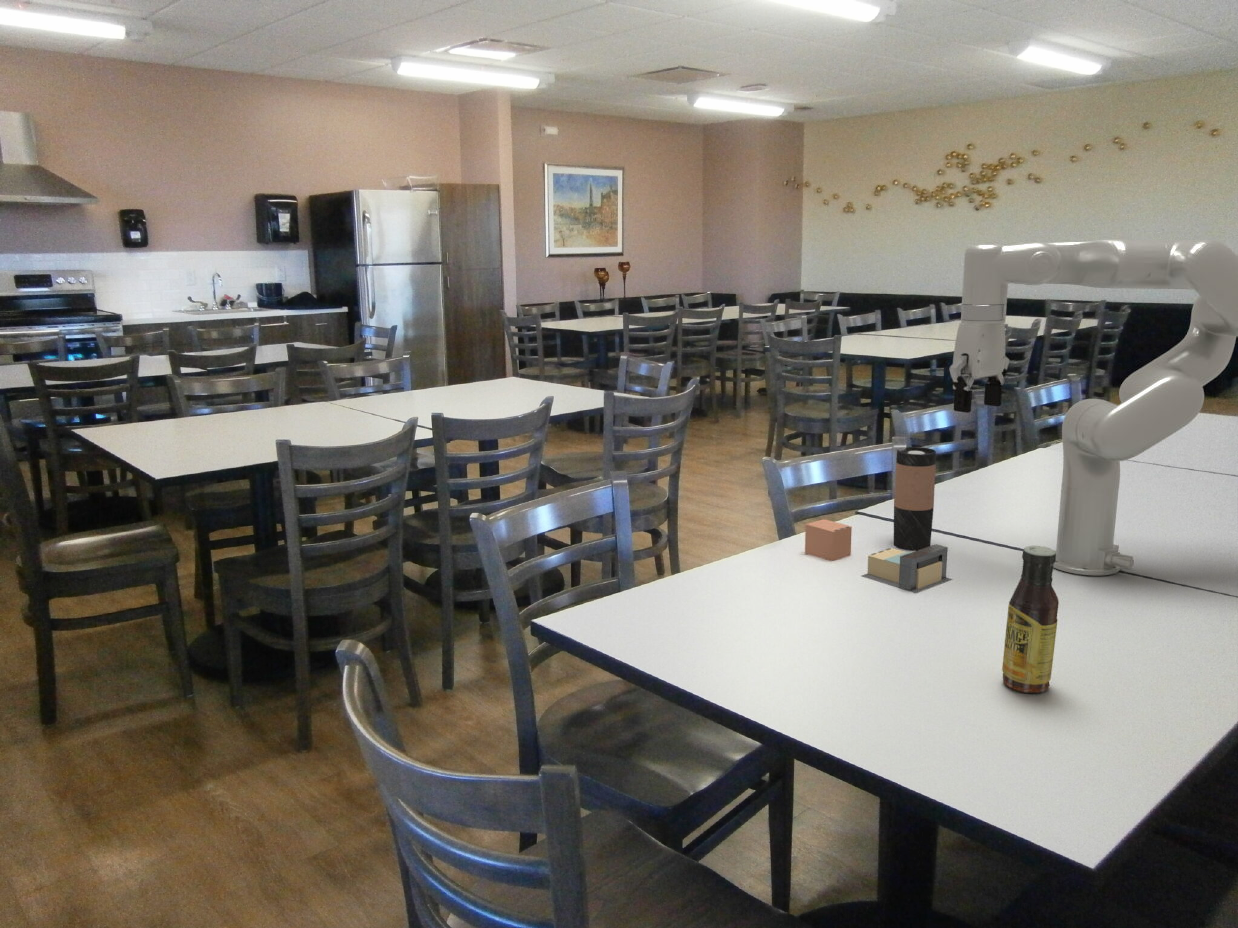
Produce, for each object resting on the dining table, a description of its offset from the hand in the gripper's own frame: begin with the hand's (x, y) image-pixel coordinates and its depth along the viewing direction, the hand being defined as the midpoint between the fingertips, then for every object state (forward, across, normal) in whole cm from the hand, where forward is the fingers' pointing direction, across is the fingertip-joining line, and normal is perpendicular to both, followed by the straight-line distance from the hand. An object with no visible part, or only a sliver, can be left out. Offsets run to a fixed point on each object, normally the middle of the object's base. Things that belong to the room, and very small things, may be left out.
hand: (977, 408), depth 173 cm
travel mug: (+31, -2, -14) cm, 34 cm away
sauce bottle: (+31, +39, +34) cm, 60 cm away
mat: (+30, +15, -3) cm, 34 cm away
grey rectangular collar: (+30, +15, 0) cm, 34 cm away
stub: (+30, +15, -22) cm, 40 cm away
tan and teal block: (+30, +15, -4) cm, 34 cm away
